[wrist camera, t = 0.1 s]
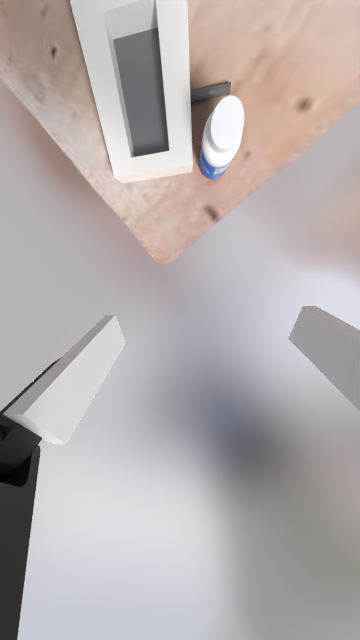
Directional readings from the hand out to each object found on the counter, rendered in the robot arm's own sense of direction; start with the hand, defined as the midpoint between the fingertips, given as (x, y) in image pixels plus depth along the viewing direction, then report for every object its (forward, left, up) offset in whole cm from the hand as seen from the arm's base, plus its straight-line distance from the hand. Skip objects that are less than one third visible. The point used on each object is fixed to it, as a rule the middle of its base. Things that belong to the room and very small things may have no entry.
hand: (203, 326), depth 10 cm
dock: (-24, -3, -28) cm, 37 cm away
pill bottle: (-17, +5, -28) cm, 33 cm away
